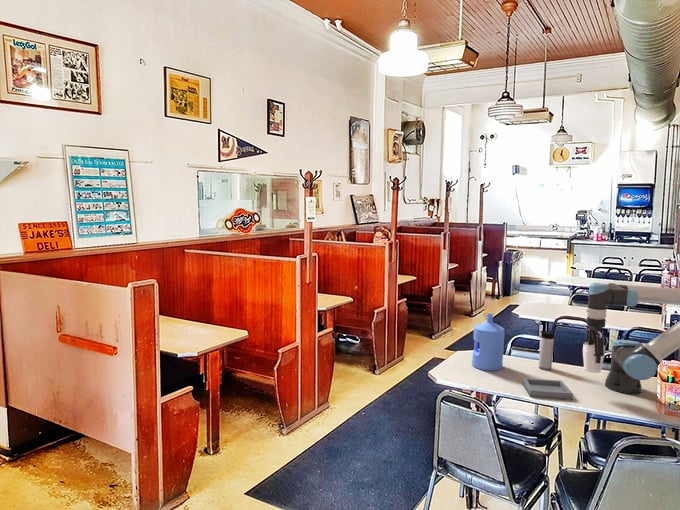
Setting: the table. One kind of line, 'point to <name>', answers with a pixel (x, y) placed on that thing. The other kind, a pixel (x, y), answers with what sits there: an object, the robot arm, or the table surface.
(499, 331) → the water jug
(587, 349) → the cup
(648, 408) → the table surface
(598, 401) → the table surface
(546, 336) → the travel mug
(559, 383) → the tray
